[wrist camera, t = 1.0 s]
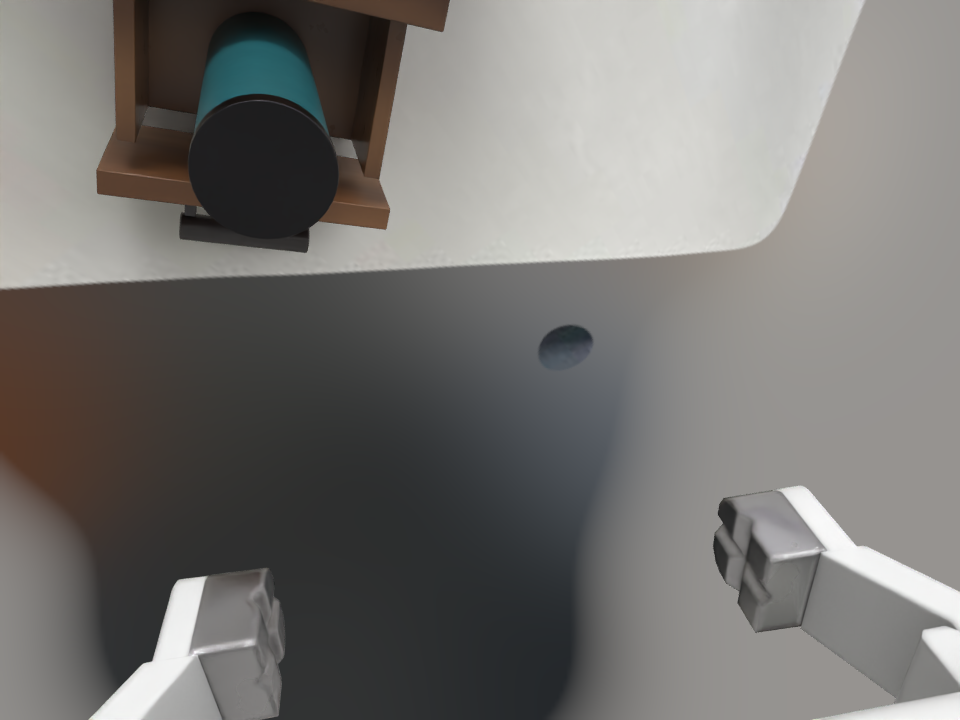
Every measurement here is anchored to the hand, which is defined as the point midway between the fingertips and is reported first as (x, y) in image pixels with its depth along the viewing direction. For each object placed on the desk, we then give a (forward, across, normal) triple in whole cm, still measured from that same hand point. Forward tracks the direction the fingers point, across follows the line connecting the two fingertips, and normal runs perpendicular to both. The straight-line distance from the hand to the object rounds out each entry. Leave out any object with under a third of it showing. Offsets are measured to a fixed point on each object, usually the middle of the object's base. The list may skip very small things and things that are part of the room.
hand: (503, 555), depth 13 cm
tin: (+32, +7, -4) cm, 33 cm away
